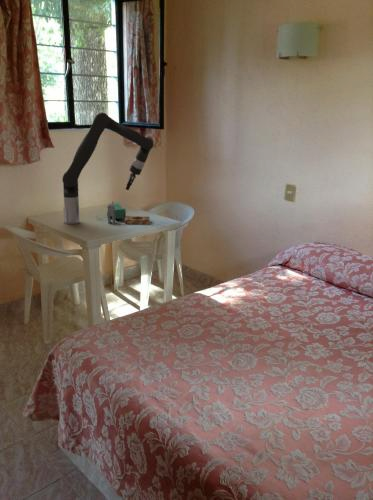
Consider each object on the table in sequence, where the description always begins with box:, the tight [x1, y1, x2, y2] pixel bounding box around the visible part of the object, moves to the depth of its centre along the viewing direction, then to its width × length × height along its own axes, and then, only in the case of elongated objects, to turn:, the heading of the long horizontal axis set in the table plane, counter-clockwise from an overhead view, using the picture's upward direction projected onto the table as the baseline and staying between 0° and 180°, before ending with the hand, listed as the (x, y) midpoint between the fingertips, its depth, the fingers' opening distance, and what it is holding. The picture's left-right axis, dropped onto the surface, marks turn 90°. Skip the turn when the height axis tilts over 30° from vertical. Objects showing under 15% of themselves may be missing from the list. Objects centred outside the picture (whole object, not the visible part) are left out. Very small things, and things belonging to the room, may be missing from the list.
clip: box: [107, 203, 116, 225], centre depth 285 cm, size 4×4×12 cm
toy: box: [106, 201, 127, 220], centre depth 303 cm, size 12×10×30 cm
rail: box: [124, 215, 151, 225], centre depth 289 cm, size 16×10×3 cm, turn 93°
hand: (127, 187), depth 288 cm, fingers open, 8 cm apart
